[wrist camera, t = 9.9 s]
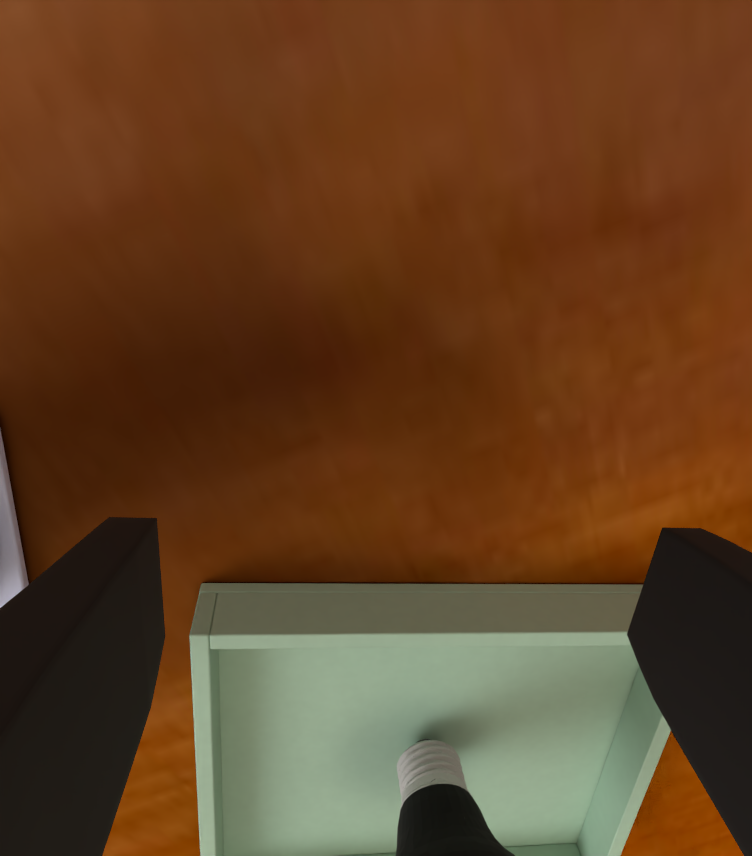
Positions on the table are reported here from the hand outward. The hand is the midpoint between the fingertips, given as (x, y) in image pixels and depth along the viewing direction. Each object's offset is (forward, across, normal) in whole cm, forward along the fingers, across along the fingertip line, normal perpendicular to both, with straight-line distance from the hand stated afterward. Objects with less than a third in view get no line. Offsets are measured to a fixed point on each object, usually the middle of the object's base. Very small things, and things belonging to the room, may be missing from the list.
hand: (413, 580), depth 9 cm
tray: (+10, -4, +16) cm, 20 cm away
